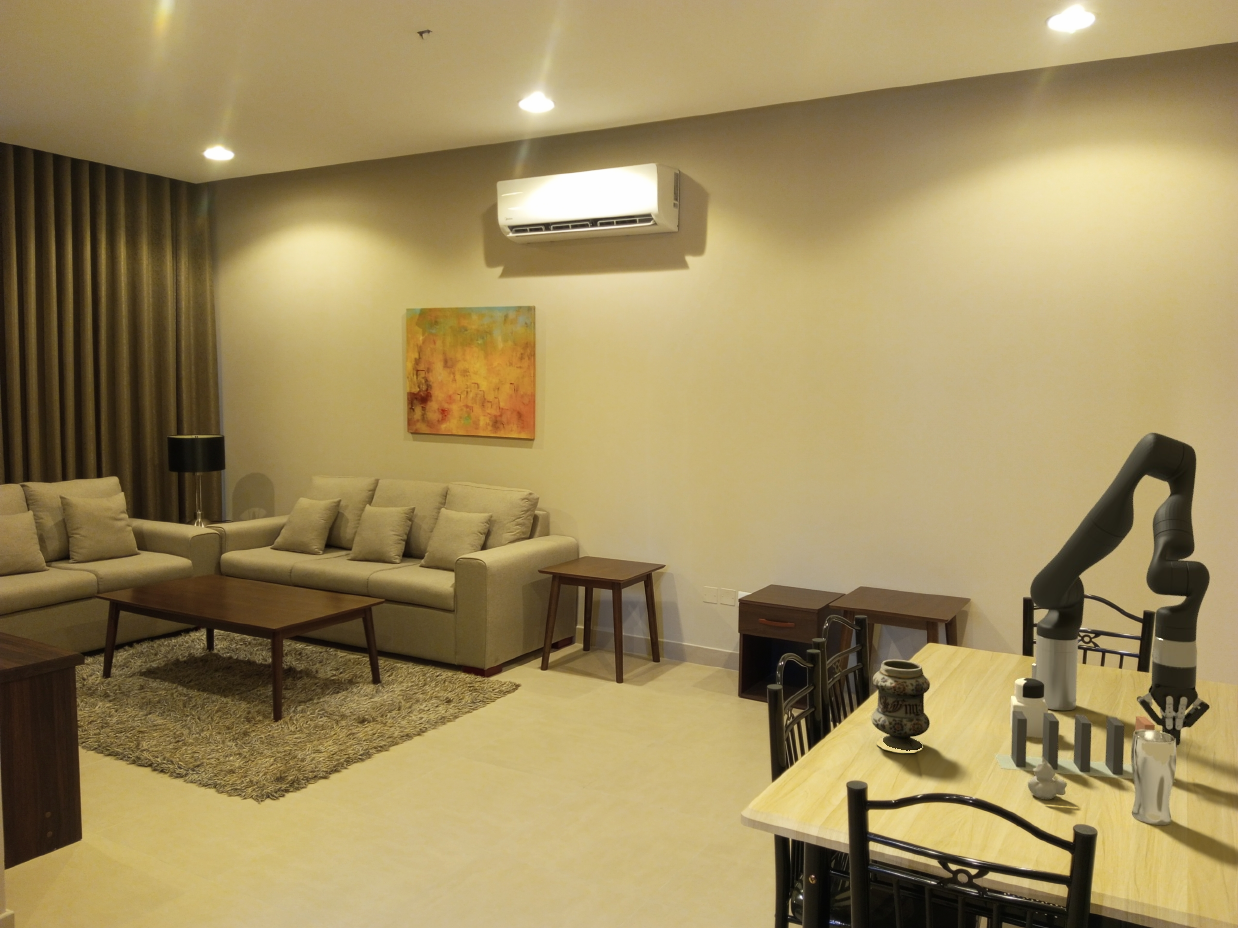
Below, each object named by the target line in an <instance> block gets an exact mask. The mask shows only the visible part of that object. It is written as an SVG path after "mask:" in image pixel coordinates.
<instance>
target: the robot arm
mask: <svg viewBox="0 0 1238 928" xmlns="http://www.w3.org/2000/svg"><path fill="white" fill-rule="evenodd" d="M1196 472H1197V455H1196V451H1195V449H1194V448H1193V446H1191V445H1190V444H1188V443H1186V442H1183V441H1181V440H1178V439H1175V438H1173V437H1170V436H1168V435H1164V434H1161V433H1158V432H1150V433H1149V432H1148V433H1147V434H1145V435H1144V436H1142V438H1141V439H1140V440H1139V441H1138V442H1137V444H1136V445H1135V446H1134V448H1133V449H1132V450H1131V452H1130V454H1129V455H1128V456H1127V458H1126V460H1125V462H1124V463H1123V465H1122V466H1121V468H1120V469H1119V471H1118V473H1117V474H1116V476H1115V478H1114V479H1113V480H1112V482H1111V483H1110V485H1109V486H1108V488H1106V490H1105V492H1104V493H1103V494H1102V495H1101V496H1100V498H1099V499H1098V501H1097V502H1096V503H1095V505H1093V506H1092V508H1090V510H1089V512H1087V514H1086V516H1084V518H1083V519H1082V521H1081V522H1080V523H1079V525H1078V527H1076V529H1075V531H1073V533H1072V534H1071V535H1070V536H1069V538H1068V540H1067V541H1066V542H1065V544H1064V545H1063V546H1062V547H1061V548H1060V550H1059V551H1058V553H1057V554H1055V556H1053V558H1052V559H1051V560H1050V561H1049V562H1047V564H1046V565H1045V566H1044V567H1043V568H1041V570H1040V571H1039V572H1038V573H1037V574H1036V575H1035V576H1034V578H1033V579H1032V582H1031V585H1030V588H1029V589H1030V590H1029V592H1030V598H1031V600H1032V603H1033V604H1034V605H1035V606H1037V607H1038V608H1040V609H1043V610H1048V611H1047V612H1046V614H1045V616H1044V617H1043V618H1042V619H1040V620H1039V621H1038V622H1037V624H1036V636H1035V637H1036V640H1035V641H1036V642H1035V663H1032V664H1031V678H1032V679H1036V680H1039V681H1041V682H1042V683H1043V684H1044V699H1045V702H1046V705H1047V708H1048V710H1055V711H1071V710H1075V709H1076V708H1077V685H1078V683H1077V682H1078V681H1077V679H1078V656H1079V655H1078V653H1079V652H1078V651H1079V650H1078V649H1079V645H1078V644H1079V632H1080V629H1081V627H1082V625H1083V620H1084V619H1083V618H1084V609H1085V608H1084V606H1085V586H1084V583H1083V581H1082V578H1081V576H1082V574H1083V573H1084V572H1086V571H1087V570H1089V569H1090V568H1091V567H1093V566H1094V565H1096V564H1097V563H1099V562H1100V561H1102V560H1103V559H1104V558H1106V557H1107V556H1109V555H1110V554H1111V553H1113V552H1114V550H1116V549H1117V548H1118V547H1119V546H1120V544H1121V543H1122V542H1123V541H1124V539H1125V538H1126V537H1127V536H1128V534H1129V533H1130V531H1131V530H1132V529H1133V526H1134V520H1135V519H1134V518H1135V517H1134V515H1135V513H1134V512H1135V511H1134V510H1135V509H1134V495H1135V490H1137V487H1138V485H1139V483H1140V482H1141V481H1142V479H1143V478H1144V477H1145V476H1148V477H1151V478H1153V479H1157V480H1159V481H1162V482H1166V483H1167V484H1168V486H1169V491H1170V493H1169V495H1168V497H1167V498H1166V499H1165V500H1164V502H1163V503H1162V504H1160V506H1159V507H1158V508H1157V509H1156V511H1155V513H1154V515H1153V519H1152V536H1153V553H1152V557H1151V561H1150V564H1148V565H1149V566H1148V569H1147V572H1146V584H1147V587H1148V588H1149V589H1150V591H1152V593H1154V594H1157V595H1162V596H1173V597H1185V598H1184V600H1183V601H1182V602H1180V603H1179V604H1174V605H1167V606H1162V607H1159V608H1158V609H1157V610H1156V612H1155V618H1154V620H1155V621H1154V622H1155V624H1154V641H1153V645H1152V651H1151V657H1152V661H1151V685H1150V687H1149V688H1148V693H1146V694H1144V695H1143V696H1140V695H1138V696H1137V697H1136V701H1137V702H1138V704H1139V705H1140V707H1141V708H1143V710H1144V711H1145V712H1146V714H1147V715H1148V716H1149V718H1150V719H1151V720H1152V721H1153V722H1154V724H1155V725H1157V726H1160V727H1162V730H1161V732H1165V733H1168V734H1170V735H1172V736H1174V737H1175V738H1176V749H1177V747H1178V746H1179V745H1180V744H1181V734H1182V733H1181V731H1182V729H1184V728H1188V729H1189V728H1192V727H1193V726H1194V724H1196V722H1198V720H1200V719H1201V717H1203V715H1204V714H1205V713H1206V712H1207V711H1209V709H1210V708H1211V707H1210V704H1209V703H1207V702H1206V701H1204V700H1202V699H1201V698H1199V694H1198V692H1197V690H1196V687H1197V669H1198V668H1197V665H1198V647H1197V629H1198V627H1197V626H1198V616H1199V613H1200V609H1201V606H1202V603H1203V600H1204V598H1205V596H1206V592H1207V591H1208V588H1209V584H1210V580H1211V577H1210V575H1211V574H1210V572H1209V569H1208V568H1207V566H1206V565H1205V564H1204V563H1202V562H1201V561H1197V560H1184V559H1187V558H1189V557H1191V556H1192V555H1193V553H1194V551H1195V548H1196V547H1195V537H1194V536H1195V535H1194V528H1193V527H1194V526H1193V517H1192V509H1193V501H1194V500H1193V499H1194V492H1195V491H1194V490H1195V484H1196ZM1153 701H1154V702H1155V704H1156V705H1157V706H1158V707H1159V710H1160V711H1159V712H1160V715H1161V717H1160V715H1158V714H1157V712H1156V711H1155V710H1154V708H1153V705H1154V703H1153ZM1191 706H1192V707H1191ZM1190 707H1191V708H1190ZM1187 710H1188V711H1187ZM1186 711H1187V712H1186Z"/></svg>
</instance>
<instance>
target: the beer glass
mask: <svg viewBox="0 0 1238 928" xmlns="http://www.w3.org/2000/svg"><path fill="white" fill-rule="evenodd" d="M1130 761H1131V762H1130V764H1131V765H1132V773H1133V779H1132V780H1133V784H1134V785H1133V786H1134V802H1133V807H1132V810H1131V814H1132V817H1133V818H1135V819H1136V820H1137V821H1139V822H1142V823H1145V824H1148V825H1153V826H1166V825H1170V824H1171V822H1172V815H1171V810H1170V798H1171V797H1170V796H1171V793H1172V789H1173V784H1174V782H1173V781H1174V780H1175V777H1176V772H1177V771H1176V770H1177V748H1176V738H1175V737H1174V736H1172V735H1170V734H1168V733H1165V732H1162V730H1148V729H1141V730H1136V731H1135V730H1134V731H1133V735H1132V743H1131V753H1130Z"/></svg>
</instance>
